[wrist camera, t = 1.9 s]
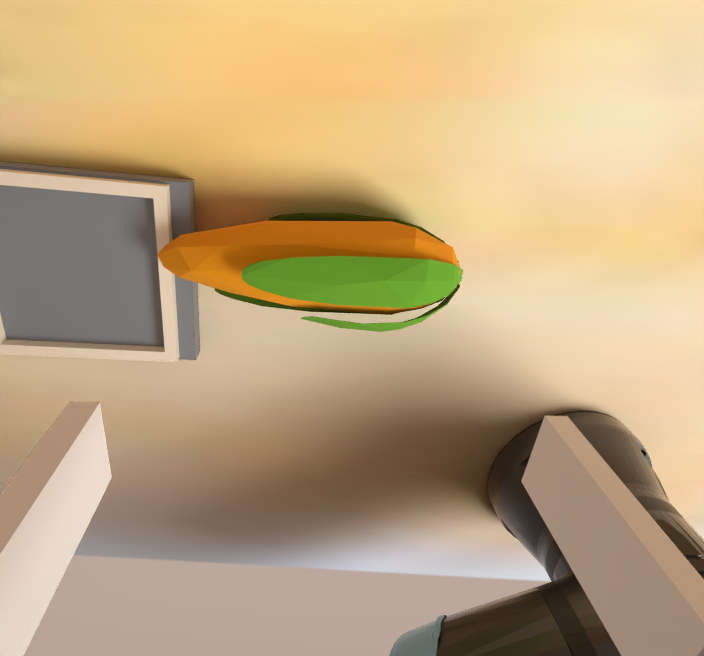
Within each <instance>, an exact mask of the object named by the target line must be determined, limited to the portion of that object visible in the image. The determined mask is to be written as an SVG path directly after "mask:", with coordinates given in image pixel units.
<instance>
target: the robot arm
mask: <svg viewBox="0 0 704 656" xmlns="http://www.w3.org/2000/svg"><path fill="white" fill-rule="evenodd" d="M111 478H112V476H111V470H110V464H109V457H108V451H107V444H106V438H105V431H104V425H103V419H102V412H101V406H100V402H72V401H70V402H69V404H68V405H67V406H66V407H65V409H64V410H63V411H62V413H61V414H60V415H59V417H58V418H57V419H56V421H55V422H54V423H53V425H52V426H51V427H50V429H49V430H48V431H47V433H46V434H45V435H44V437H43V438H42V439H41V441H40V442H39V443H38V445H37V446H36V447H35V448H34V450H33V451H32V452H31V454H30V455H29V456H28V458H27V459H26V460H25V462H24V463H23V464H22V466H21V467H20V468H19V470H18V471H17V472H16V474H15V475H14V476H13V478H12V479H11V480H10V482H9V483H8V484H7V486H6V487H5V488H4V489H3V491H2V492H1V493H0V656H24V654H25V652H26V650H27V648H28V646H29V644H30V642H31V640H32V638H33V636H34V634H35V632H36V630H37V628H38V625H39V624H40V622H41V620H42V618H43V616H44V614H45V612H46V609H47V608H48V605H49V603H50V601H51V599H52V597H53V595H54V593H55V591H56V589H57V587H58V585H59V583H60V581H61V579H62V577H63V575H64V573H65V571H66V569H67V567H68V565H69V563H70V561H71V559H72V557H73V555H74V553H75V551H76V549H77V547H78V545H79V543H80V541H81V539H82V537H83V535H84V533H85V531H86V529H87V527H88V525H89V523H90V521H91V519H92V517H93V515H94V513H95V511H96V509H97V507H98V505H99V503H100V500H101V498H102V496H103V494H104V492H105V490H106V488H107V486H108V484H109V482H110V480H111ZM488 495H489V499H490V501H491V504H492V506H493V508H494V510H495V512H496V514H497V516H498V518H499V520H500V522H501V523H502V525H503V526H504V527H505V529H506V530H507V531H508V532H510V533H511V534H512V535H513V536H514V537H515V538H517V539H518V540H519V541H520V542H521V543H522V544H523V545H524V547H525V548H526V549H527V550H528V551H529V552H530V553H531V554H532V555H533V556H534V557H535V558H536V559H537V560H538V562H539V563H540V564H541V565H542V566H543V567H544V568H545V570H546V572H547V573H548V575H549V577H550V579H551V581H552V582H550V583H547V584H544V585H541V586H538V587H535V588H532V589H529V590H526V591H523V592H520V593H517V594H514V595H511V596H508V597H505V598H502V599H499V600H495V601H492V602H489V603H486V604H484V605H480V606H477V607H474V608H471V609H468V610H465V611H462V612H460V613H456V614H453V615H450V616H446V615H441V616H439V617H438V618H437V620H436V621H433V622H431V623H428V624H426V625H423V626H421V627H419V628H416V629H414V630H411V631H409V632H406V633H404V634H403V635H402V636H400V637H399V638H398V639H397V641H396V642H395V643H394V645H393V648H392V649H391V652H390V655H389V656H704V539H703V538H702V537H701V536H700V535H699V534H698V533H697V532H696V531H695V530H694V529H693V528H692V526H691V525H690V524H689V523H688V522H687V521H686V520H685V519H684V518H683V517H682V516H681V515H680V514H679V512H678V511H677V510H676V509H675V508H674V507H673V506H672V505H671V503H670V502H669V500H668V498H667V496H666V493H665V491H664V489H663V487H662V485H661V483H660V480H659V479H658V477H657V475H656V473H655V472H654V470H653V469H652V464H651V460H650V457H649V455H648V453H647V451H646V449H645V448H644V446H643V445H642V443H641V442H640V441H639V440H638V439H637V438H636V437H635V436H634V435H633V434H632V433H631V431H630V430H629V429H628V428H627V427H626V426H624V425H623V424H622V423H621V422H619V421H618V420H616V419H614V418H612V417H610V416H607V415H604V414H600V413H594V412H574V413H567V414H562V415H558V416H544V419H543V421H541V422H539V423H537V424H535V425H533V426H531V427H530V428H528V429H526V430H525V431H523V432H522V433H521V434H519V435H518V436H517V437H515V438H514V439H513V440H512V441H511V442H510V443H509V444H508V445H507V446H506V447H505V448H504V449H503V450H502V452H501V453H500V454H499V456H498V457H497V459H496V461H495V462H494V464H493V467H492V469H491V472H490V475H489V479H488Z"/></svg>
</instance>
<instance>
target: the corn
mask: <svg viewBox="0 0 704 656" xmlns="http://www.w3.org/2000/svg"><path fill="white" fill-rule="evenodd" d="M157 255H158V257H159V259H160V261H161V263H162V265H163V267H165V268H166V269H167V270H169V271H170V272H172V273H173V274H175V275H176V276H178V277H180V278H183V279H186V280H190V281H193V282H196V283H200V284H203V285H206V286H210V287H213V288H215V291H216V292H218V293H220V294H221V295H224V296H227V297H230V298H233V299H236V300H240V301H244V302H248V303H252V304H256V305H260V306H267V307H275V308H284V309H293V310H301V311H310V312H336V313H363V314H385V315H387V314H390V315H392V314H395V313H399V312H404V311H410V310H416V309H421V308H424V307H426V306H429V305H432V304H434V303H437V302H439V301H442V300H443V299H444V298H445V297H446V296H447V297H446V298H445V299H444V300H443V301H442V302H441V303H440V304H439V305H438V306H437V307H435V308H433V309H432V310H430V311H428V312H426V313H424V314H423V315H421V316H419V317H417V318H415V319H411V320H408V321H405V322H396V323H368V324H362V323H354V322H347V321H340V320H332V319H326V318H319V317H313V316H311V317H303V318H301V319H305V320H309V321H313V322H318V323H322V324H326V325H331V326H335V327H340V328H349V329H359V330H369V331H380V332H382V331H390V330H397V329H402V328H405V327H408V326H411V325H414V324H416V323H419V322H422V321H423V320H425V319H426V318H428V317H429V316H431V315H432V314H434V313H435V312H437V311H438V310H440V309H441V308H443V307H444V306H445V305H447V304H448V302H449V301H450V299H451V298H452V297H453V295H454V294H455V293H456V291H457V290H458V289H459V287H460V285H459V283H460V281H461V279H462V272H463V270H462V269H461V268H460V266H459V262H458V260H457V258H456V255H455V253H454V250H453V247H451V246H449V245H447V244H445V242H444V241H442V240H441V239H439V238H438V237H436V236H434V235H433V234H431V233H430V232H428V231H426V230H425V229H423V228H422V227H419V226H415V225H412V224H409V223H406V222H403V221H399V220H396V219H387V218H378V217H369V216H360V215H350V214H313V213H300V214H289V215H279V216H275V217H272V218H270V219H269V221H260V222H254V223H248V224H242V225H236V226H230V227H224V228H218V229H212V230H206V231H200V232H194V233H188V234H182V235H180V236H179V237H177V238H176V239H174V240H173V241H171V242H170V243H168V244H167V245H165V246H164V248H163V249H162V250H161V251H160V252H159V253H158V254H157ZM456 286H457V287H456Z"/></svg>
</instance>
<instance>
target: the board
mask: <svg viewBox="0 0 704 656" xmlns="http://www.w3.org/2000/svg"><path fill="white" fill-rule="evenodd" d="M194 232H195V205H194V179H183V178H173V177H162V176H152V175H141V174H130V173H120V172H109V171H99V170H88V169H78V168H67V167H57V166H46V165H36V164H25V163H15V162H4V161H0V354H1V355H23V356H46V357H69V358H92V359H115V360H137V361H160V362H177V361H178V359H187V360H196V359H197V356H198V354H199V351H200V339H199V312H198V285H197V283H196V282H193V281H190V280H186V279H183V278H180V277H178V276H176V275H175V274H173V273H172V272H170V271H169V270H167V269H166V268H165V267H163V265H162V263H161V261H160V259H159V257H158V255H157V254H158V253H159V252H160V251H161V250H162V249H163V248H164V246H165V245H167V244H168V243H170V242H171V241H173V240H174V239H176V238H177V237H179V236H180V235H182V234H188V233H194Z"/></svg>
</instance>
